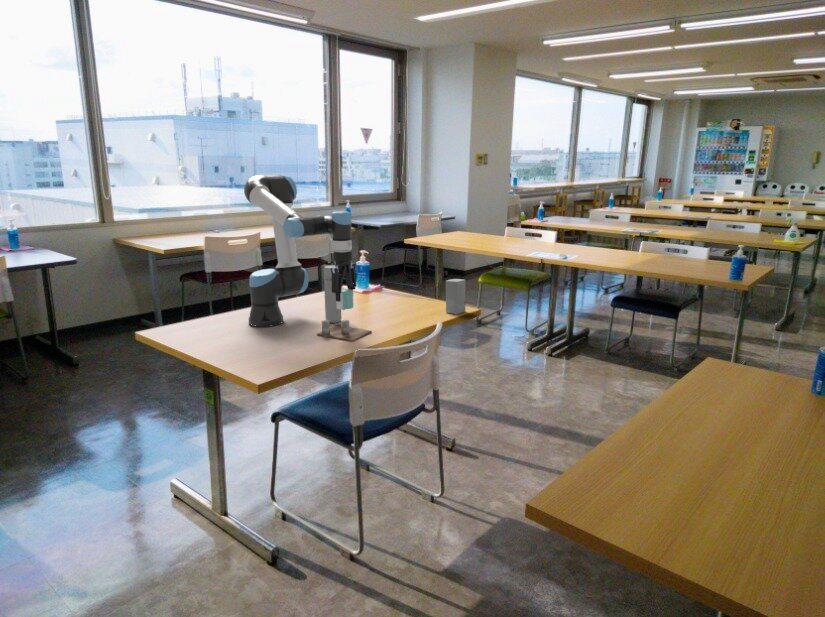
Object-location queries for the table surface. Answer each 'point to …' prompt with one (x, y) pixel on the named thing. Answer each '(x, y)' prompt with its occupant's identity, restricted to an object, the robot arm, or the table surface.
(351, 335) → the stud board
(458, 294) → the skincare box
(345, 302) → the cap
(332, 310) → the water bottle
